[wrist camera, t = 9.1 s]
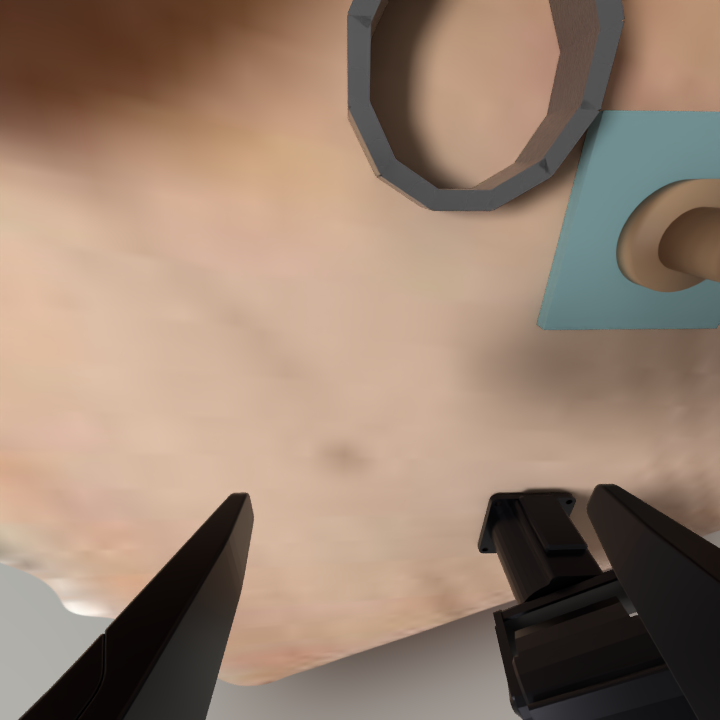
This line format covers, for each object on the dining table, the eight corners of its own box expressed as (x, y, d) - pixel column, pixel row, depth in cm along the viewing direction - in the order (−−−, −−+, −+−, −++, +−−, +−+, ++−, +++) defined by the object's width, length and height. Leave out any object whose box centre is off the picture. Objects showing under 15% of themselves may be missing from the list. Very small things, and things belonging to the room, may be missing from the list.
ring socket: (543, 207, 17) (573, 211, 15) (348, 206, 17) (349, 210, 14) (610, -81, 12) (667, -139, 10) (346, -90, 12) (345, -151, 10)
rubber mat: (703, 323, 20) (716, 328, 19) (536, 324, 20) (543, 329, 19) (807, 116, 15) (829, 113, 15) (591, 113, 15) (603, 110, 14)
